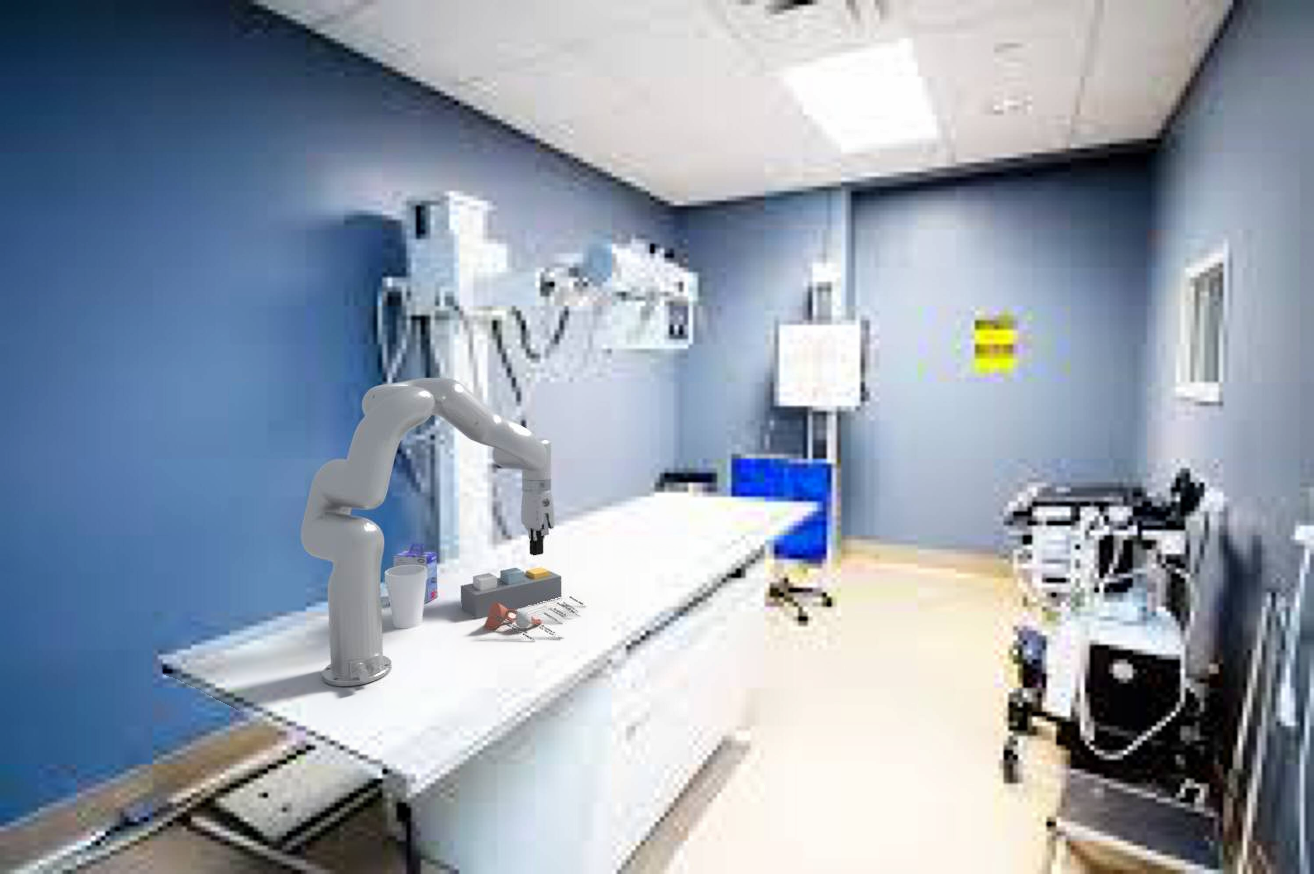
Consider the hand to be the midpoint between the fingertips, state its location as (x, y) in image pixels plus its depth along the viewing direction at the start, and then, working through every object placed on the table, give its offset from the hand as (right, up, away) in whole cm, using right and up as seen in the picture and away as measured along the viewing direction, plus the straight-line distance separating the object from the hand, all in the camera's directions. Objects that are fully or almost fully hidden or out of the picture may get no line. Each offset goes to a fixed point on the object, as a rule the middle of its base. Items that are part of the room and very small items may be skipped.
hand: (536, 554), depth 179 cm
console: (-6, -12, -3) cm, 14 cm away
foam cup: (-28, -14, -17) cm, 35 cm away
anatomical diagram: (+5, -15, -15) cm, 21 cm away
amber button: (0, -9, +1) cm, 9 cm away
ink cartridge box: (-32, -12, 0) cm, 34 cm away
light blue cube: (-6, -8, -4) cm, 10 cm away
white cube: (-11, -8, -8) cm, 16 cm away
